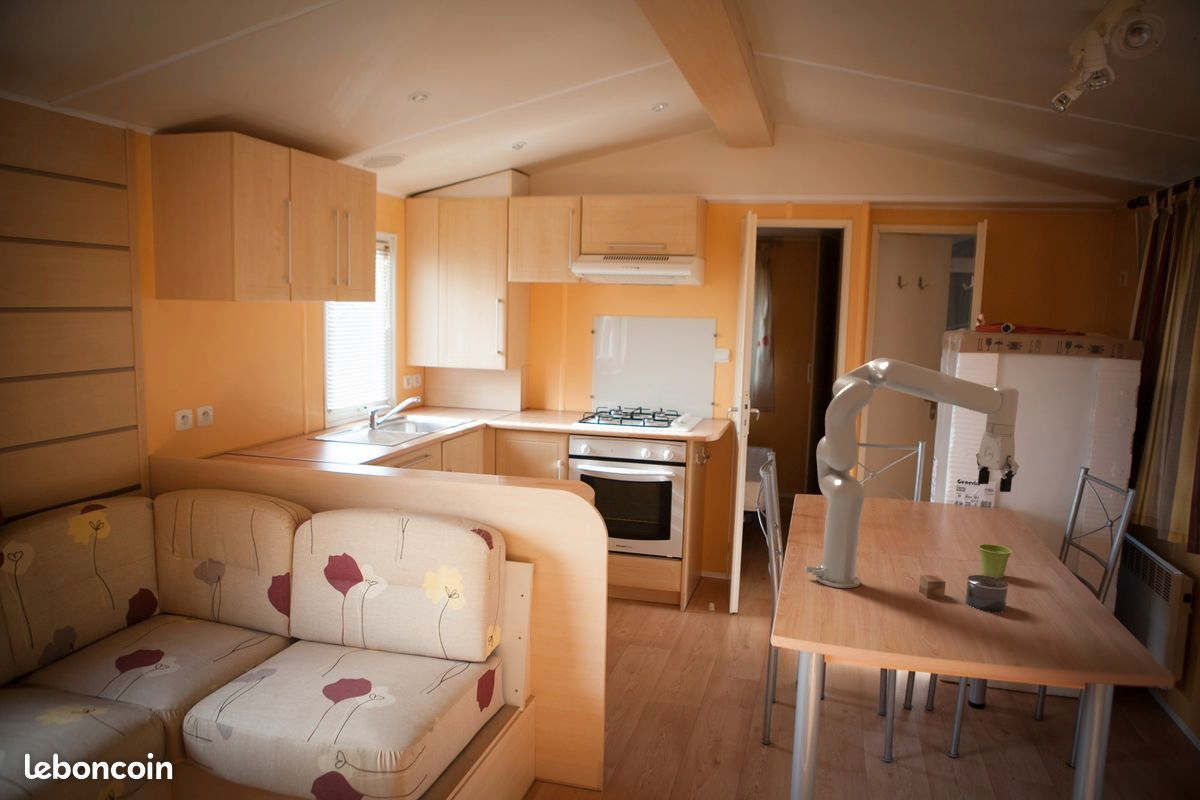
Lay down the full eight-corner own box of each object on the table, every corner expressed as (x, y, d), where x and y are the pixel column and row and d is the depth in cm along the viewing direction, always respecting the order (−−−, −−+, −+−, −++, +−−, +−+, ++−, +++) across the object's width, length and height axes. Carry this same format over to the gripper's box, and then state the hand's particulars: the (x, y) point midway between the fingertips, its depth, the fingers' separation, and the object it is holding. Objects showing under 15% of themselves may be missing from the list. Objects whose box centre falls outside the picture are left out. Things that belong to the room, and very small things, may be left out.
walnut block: (926, 598, 227) (928, 581, 226) (918, 591, 232) (920, 575, 231) (943, 598, 227) (945, 581, 227) (935, 592, 232) (937, 575, 231)
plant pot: (990, 581, 244) (993, 553, 243) (968, 571, 253) (971, 544, 252) (1016, 580, 246) (1019, 552, 245) (993, 569, 255) (996, 543, 254)
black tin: (976, 612, 218) (979, 587, 217) (958, 598, 228) (960, 574, 227) (1013, 613, 218) (1016, 588, 217) (993, 599, 228) (996, 575, 228)
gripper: (969, 424, 241) (963, 481, 243) (1008, 434, 224) (1001, 494, 226) (992, 425, 242) (986, 481, 244) (1032, 434, 225) (1025, 495, 227)
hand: (993, 487), depth 235 cm, fingers open, 9 cm apart
